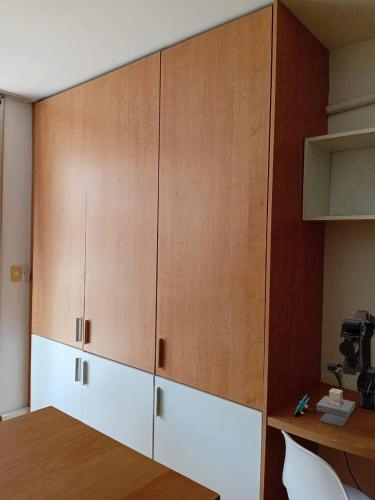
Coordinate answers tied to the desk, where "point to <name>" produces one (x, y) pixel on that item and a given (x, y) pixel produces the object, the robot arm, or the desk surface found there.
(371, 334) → the robot arm
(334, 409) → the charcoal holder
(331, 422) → the dark gray panel
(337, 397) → the cream block
